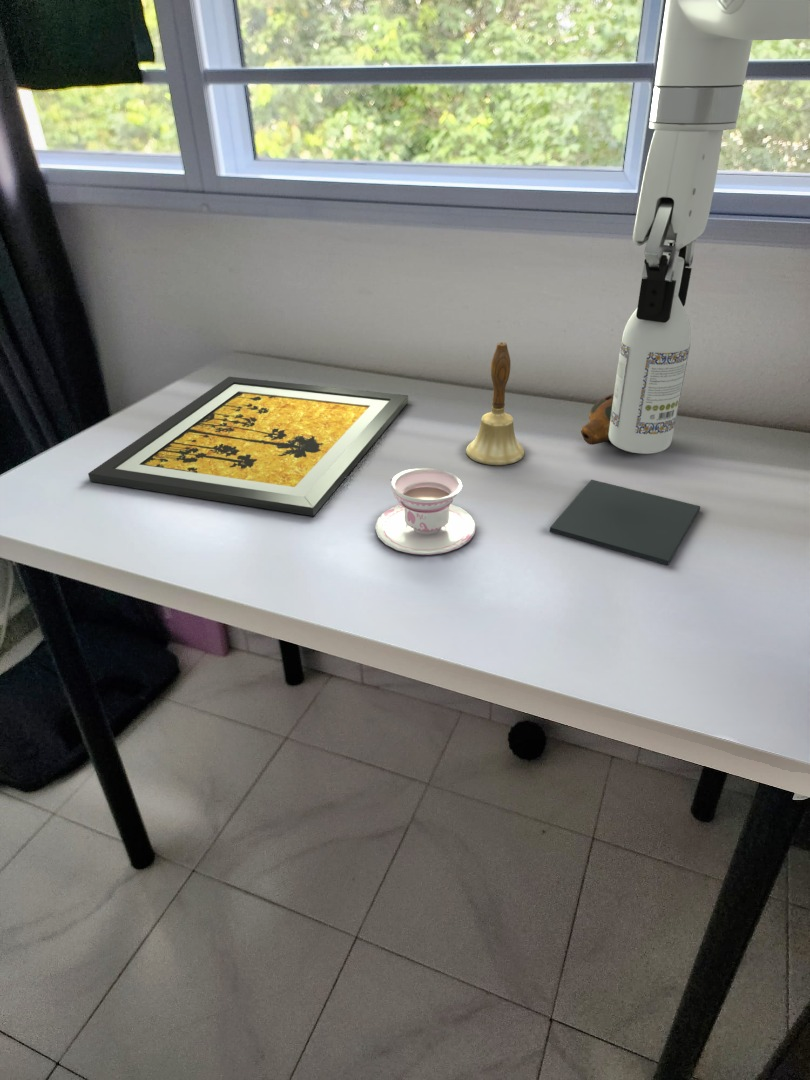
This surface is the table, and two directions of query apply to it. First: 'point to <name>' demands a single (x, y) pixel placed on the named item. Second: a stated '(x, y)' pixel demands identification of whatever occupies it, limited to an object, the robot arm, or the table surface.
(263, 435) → the picture frame
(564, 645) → the table surface
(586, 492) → the mat
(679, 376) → the bath foam
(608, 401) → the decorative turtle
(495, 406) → the hand bell
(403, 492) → the teacup
